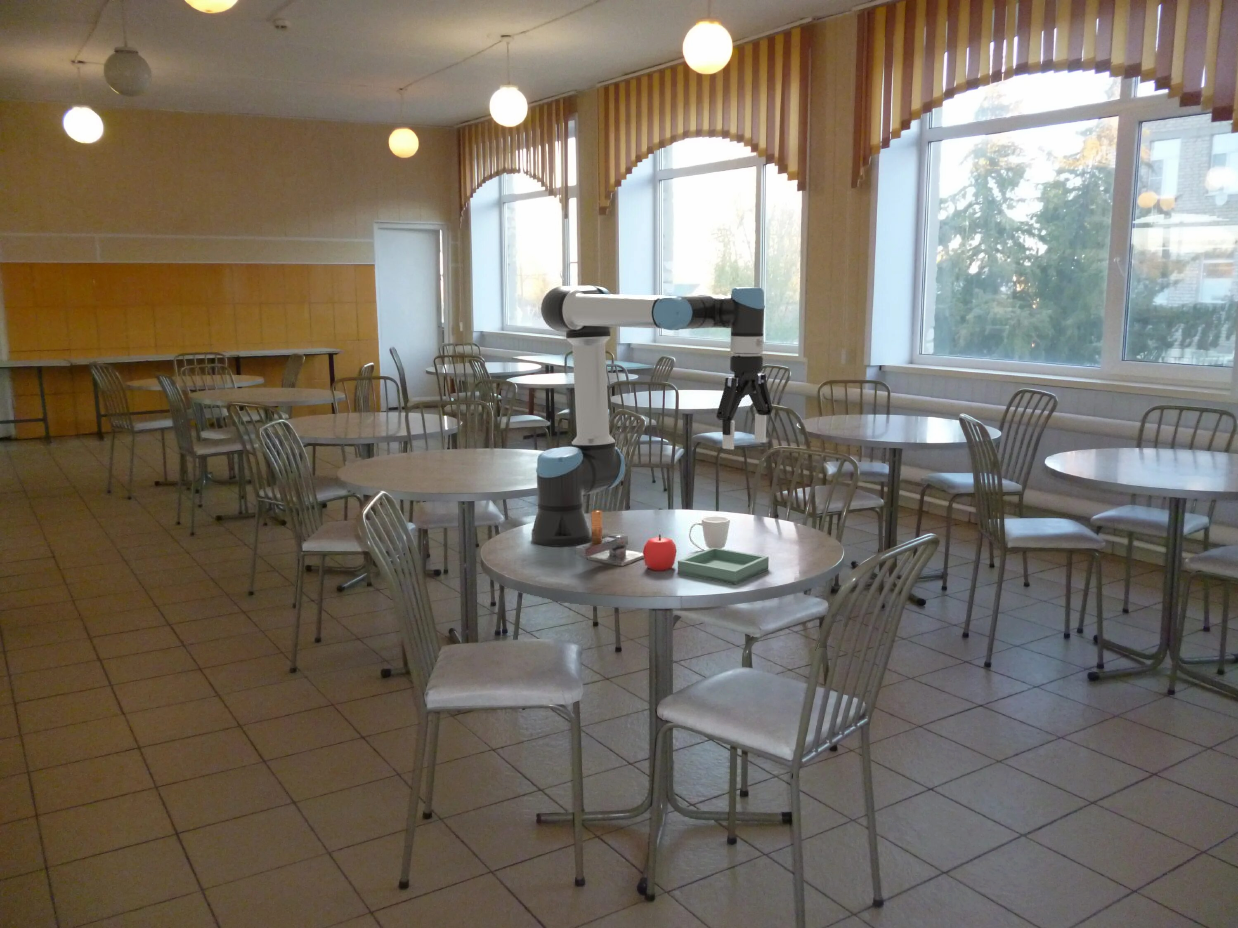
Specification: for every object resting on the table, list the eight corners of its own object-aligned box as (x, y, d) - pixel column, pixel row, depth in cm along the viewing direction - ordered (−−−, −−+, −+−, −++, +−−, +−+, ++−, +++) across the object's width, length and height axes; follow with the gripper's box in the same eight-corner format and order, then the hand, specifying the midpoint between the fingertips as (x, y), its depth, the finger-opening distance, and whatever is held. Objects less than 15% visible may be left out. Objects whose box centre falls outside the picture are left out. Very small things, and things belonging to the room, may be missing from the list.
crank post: (588, 559, 240) (588, 546, 239) (613, 550, 248) (613, 538, 247) (621, 566, 234) (621, 552, 233) (646, 557, 242) (646, 544, 241)
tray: (677, 573, 228) (677, 560, 227) (712, 559, 239) (712, 547, 239) (734, 584, 219) (735, 571, 218) (768, 569, 230) (768, 556, 230)
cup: (729, 554, 244) (730, 522, 242) (688, 554, 244) (688, 521, 243) (729, 547, 250) (729, 516, 249) (689, 546, 251) (689, 515, 250)
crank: (615, 540, 244) (615, 502, 242) (632, 543, 241) (632, 504, 239) (572, 554, 231) (571, 514, 229) (589, 558, 228) (588, 517, 226)
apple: (654, 561, 238) (654, 528, 236) (683, 566, 233) (683, 533, 232) (635, 569, 231) (635, 535, 230) (664, 574, 227) (665, 540, 226)
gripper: (729, 358, 220) (727, 453, 224) (788, 352, 239) (785, 440, 243) (702, 356, 225) (700, 450, 229) (761, 351, 244) (759, 437, 247)
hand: (744, 445), depth 236 cm, fingers open, 13 cm apart
